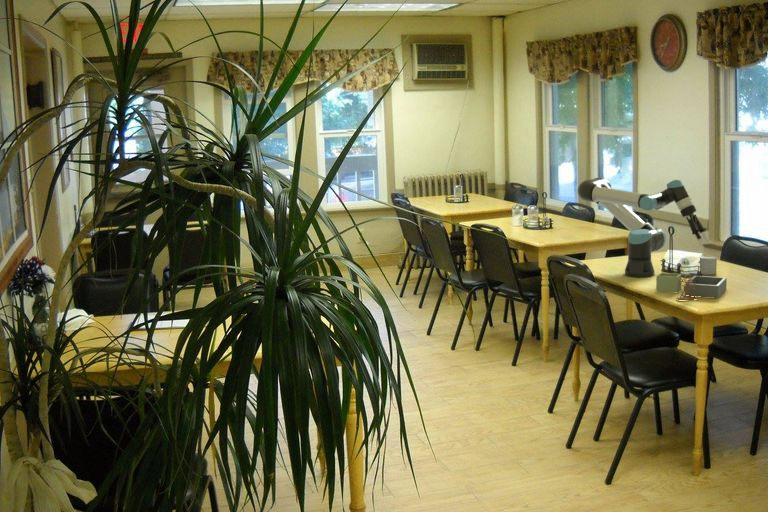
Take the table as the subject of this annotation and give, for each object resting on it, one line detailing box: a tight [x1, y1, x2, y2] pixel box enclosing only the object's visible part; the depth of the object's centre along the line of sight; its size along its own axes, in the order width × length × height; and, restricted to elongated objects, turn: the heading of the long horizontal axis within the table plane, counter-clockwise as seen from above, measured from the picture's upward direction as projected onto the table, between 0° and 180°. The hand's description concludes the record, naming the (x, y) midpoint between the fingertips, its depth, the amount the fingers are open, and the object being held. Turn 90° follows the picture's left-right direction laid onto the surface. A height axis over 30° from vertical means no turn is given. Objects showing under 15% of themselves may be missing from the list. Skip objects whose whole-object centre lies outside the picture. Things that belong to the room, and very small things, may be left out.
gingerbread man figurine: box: [676, 273, 699, 301], centre depth 412 cm, size 9×4×12 cm, turn 95°
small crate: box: [655, 272, 683, 294], centre depth 432 cm, size 10×8×8 cm
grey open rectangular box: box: [684, 275, 728, 299], centre depth 425 cm, size 15×20×6 cm
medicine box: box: [698, 256, 718, 276], centre depth 466 cm, size 8×4×9 cm, turn 84°
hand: (705, 244), depth 459 cm, fingers open, 13 cm apart
